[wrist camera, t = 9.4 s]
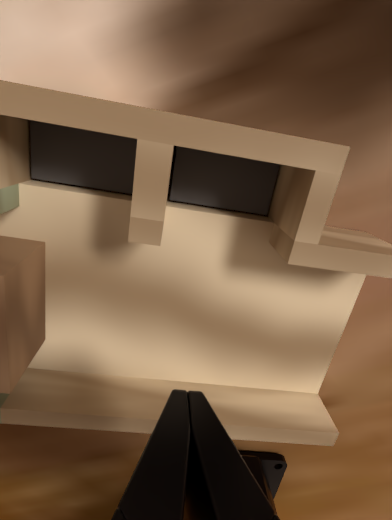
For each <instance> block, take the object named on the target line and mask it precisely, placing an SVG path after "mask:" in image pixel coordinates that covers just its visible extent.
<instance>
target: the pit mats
mask: <svg viewBox="0 0 392 520" xmlns="http://www.w3.org/2000/svg"><path fill="white" fill-rule="evenodd" d="M30 142H31V177H32V178H34V179H40V180H46V181H53V182H59V183H65V184H72V185H78V186H85V187H91V188H97V189H104V190H110V191H116V192H123V193H129V194H132V193H133V182H134V171H135V160H136V149H137V139H133V138H127V137H122V136H116V135H111V134H105V133H99V132H94V131H88V130H82V129H77V128H71V127H66V126H60V125H54V124H49V123H43V122H37V121H31V120H30ZM279 166H280V165H279V164H274V163H268V162H263V161H257V160H251V159H246V158H240V157H234V156H229V155H223V154H218V153H212V152H206V151H201V150H195V149H189V148H184V147H178V146H177V149H176V156H175V164H174V171H173V178H172V186H171V193H170V200H174V201H180V202H187V203H193V204H199V205H206V206H212V207H218V208H225V209H231V210H238V211H244V212H250V213H257V214H263V215H267V212H268V209H269V205H270V201H271V197H272V193H273V189H274V185H275V181H276V178H277V174H278V170H279Z"/></svg>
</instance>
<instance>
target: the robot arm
mask: <svg viewBox="0 0 392 520" xmlns="http://www.w3.org/2000/svg"><path fill="white" fill-rule="evenodd" d="M286 467H287V464H286V461H285V458H284V456H283V455H281V454H270V453H254V452H239V451H238V450H237V448H236V446H235V445H234V443H233V441H232V440H231V438H230V436H229V435H228V433H227V432H226V430H225V428H224V427H223V425H222V423H221V422H220V420H219V418H218V417H217V415H216V413H215V412H214V410H213V408H212V407H211V405H210V403H209V402H208V400H207V398H206V397H205V395H204V394H203V392H201V391H192V390H189V391H188V392H187V391H186V390H179V389H173V390H172V391H171V394H170V396H169V398H168V400H167V402H166V404H165V406H164V408H163V411H162V413H161V415H160V417H159V419H158V421H157V423H156V426H155V428H154V430H153V432H152V434H151V436H150V438H149V441H148V443H147V445H146V447H145V449H144V451H143V453H142V456H141V458H140V460H139V462H138V464H137V466H136V468H135V470H134V473H133V475H132V477H131V479H130V481H129V483H128V485H127V488H126V490H125V492H124V494H123V496H122V498H121V500H120V503H119V505H118V509H116V511H115V513H114V515H113V517H112V519H111V520H280V519H279V517H278V516H277V512H276V508H275V505H274V501H273V499H274V497H275V494H276V492H277V489H278V487H279V485H280V482H281V480H282V477H283V475H284V472H285V470H286Z"/></svg>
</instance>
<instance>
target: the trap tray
mask: <svg viewBox="0 0 392 520" xmlns="http://www.w3.org/2000/svg"><path fill="white" fill-rule="evenodd" d="M29 120H34V121H40V122H45V123H51V124H57V125H62V126H68V127H73V128H79V129H85V130H90V131H96V132H102V133H107V134H113V135H118V136H124V137H130V138H135V139H137V149H136V160H135V171H134V182H133V193H132V195H126V194H119V193H113V192H106V191H100V190H94V189H87V188H81V187H74V186H68V185H62V184H55V183H49V182H42V181H36V180H31V156H30V122H29ZM174 145H175V146H180V147H186V148H192V149H197V150H203V151H209V152H214V153H220V154H225V155H231V156H237V157H242V158H248V159H254V160H259V161H265V162H270V163H276V164H281V165H280V169H279V173H278V177H277V181H276V185H275V189H274V192H273V196H272V200H271V204H270V208H269V212H268V216H267V217H266V216H260V215H254V214H247V213H241V212H234V211H228V210H222V209H215V208H209V207H202V206H196V205H190V204H183V203H177V202H170V201H167V196H168V189H169V181H170V174H171V166H172V159H173V151H174ZM349 150H350V146H344V145H339V144H334V143H329V142H323V141H318V140H313V139H308V138H302V137H297V136H292V135H287V134H281V133H276V132H271V131H265V130H260V129H255V128H250V127H244V126H239V125H234V124H229V123H223V122H218V121H213V120H208V119H202V118H197V117H192V116H186V115H181V114H176V113H171V112H165V111H160V110H155V109H150V108H144V107H139V106H134V105H128V104H123V103H118V102H113V101H107V100H102V99H97V98H92V97H86V96H81V95H76V94H71V93H65V92H60V91H55V90H49V89H44V88H39V87H34V86H28V85H23V84H18V83H13V82H7V81H2V80H0V235H1V236H8V237H14V238H21V239H28V240H35V241H42V242H45V341H44V343H43V344H42V346H41V347H40V349H39V350H38V352H37V353H36V355H35V356H34V358H33V360H32V361H31V363H30V364H29V366H28V367H27V369H26V370H25V372H24V373H23V375H22V377H21V378H20V380H19V381H18V383H17V384H16V386H15V387H14V389H13V390H12V392H11V393H10V394H6V393H0V423H2V424H16V425H31V426H46V427H60V428H75V429H90V430H104V431H119V432H134V433H148V434H152V432H153V430H154V428H155V426H156V423H157V421H158V419H159V417H160V415H161V413H162V411H163V408H164V406H165V404H166V402H167V400H168V398H169V396H170V394H171V391H172V390H173V389H179V390H186V391H187V392H188V391H189V390H192V391H201V392H203V394H204V395H205V397H206V398H207V400H208V402H209V403H210V405H211V407H212V408H213V410H214V412H215V413H216V415H217V417H218V418H219V420H220V422H221V423H222V425H223V427H224V428H225V430H226V432H227V433H228V435H229V436H230V438H231V439H237V440H251V441H266V442H281V443H295V444H310V445H325V446H333V445H334V443H335V441H336V439H337V437H338V435H339V432H338V430H337V428H336V426H335V425H334V423H333V421H332V419H331V417H330V415H329V414H328V412H327V410H326V408H325V406H324V404H323V403H322V401H321V399H320V397H319V395H318V392H319V389H320V387H321V384H322V382H323V379H324V377H325V375H326V372H327V370H328V367H329V365H330V362H331V360H332V357H333V355H334V353H335V350H336V348H337V345H338V343H339V340H340V338H341V335H342V333H343V331H344V328H345V326H346V323H347V321H348V318H349V316H350V314H351V311H352V309H353V306H354V304H355V301H356V299H357V296H358V294H359V292H360V289H361V287H362V284H363V282H364V279H365V277H366V275H371V276H379V277H386V278H392V245H391V244H389V243H387V242H385V241H383V240H381V239H379V238H377V237H375V236H373V235H371V234H369V233H367V232H362V231H356V230H350V229H343V228H337V227H330V226H324V225H325V222H326V219H327V216H328V213H329V210H330V207H331V204H332V201H333V198H334V195H335V192H336V189H337V186H338V183H339V180H340V177H341V174H342V171H343V168H344V165H345V162H346V159H347V156H348V153H349Z"/></svg>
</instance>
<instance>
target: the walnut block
mask: <svg viewBox="0 0 392 520" xmlns="http://www.w3.org/2000/svg"><path fill="white" fill-rule="evenodd" d="M44 341H45V242H42V241H35V240H28V239H21V238H14V237H8V236H1V235H0V393H6V394H10V393H11V392H12V390H13V389H14V387H15V386H16V384H17V383H18V381H19V380H20V378H21V377H22V375H23V373H24V372H25V370H26V369H27V367H28V366H29V364H30V363H31V361H32V360H33V358H34V356H35V355H36V353H37V352H38V350H39V349H40V347H41V346H42V344H43V343H44Z"/></svg>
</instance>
